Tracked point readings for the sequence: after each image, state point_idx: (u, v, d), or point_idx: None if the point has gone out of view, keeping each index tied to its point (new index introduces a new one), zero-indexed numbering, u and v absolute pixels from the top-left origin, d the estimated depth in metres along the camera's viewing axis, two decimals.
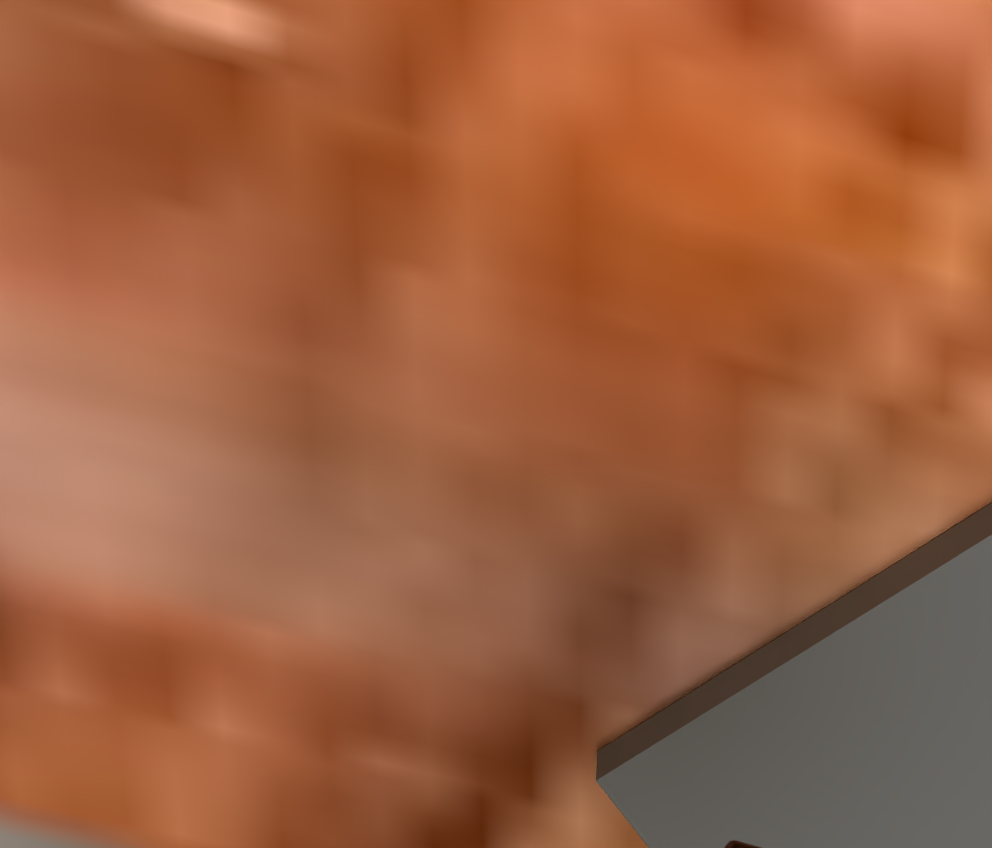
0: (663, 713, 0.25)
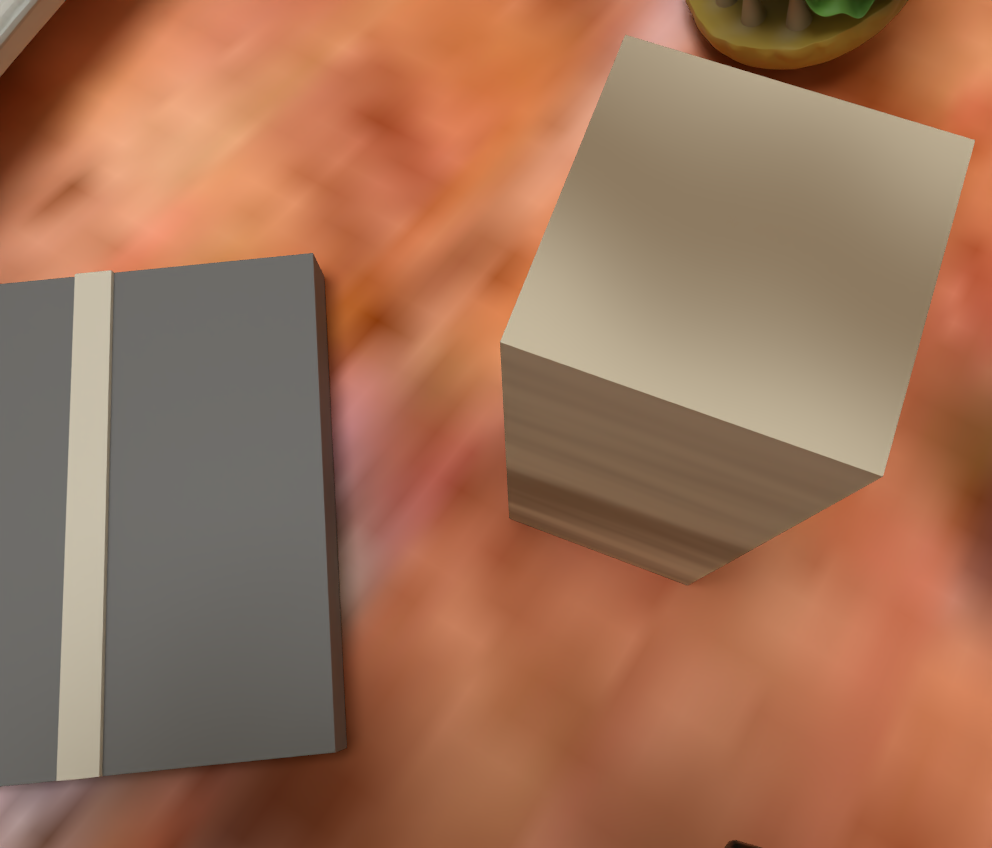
0: None
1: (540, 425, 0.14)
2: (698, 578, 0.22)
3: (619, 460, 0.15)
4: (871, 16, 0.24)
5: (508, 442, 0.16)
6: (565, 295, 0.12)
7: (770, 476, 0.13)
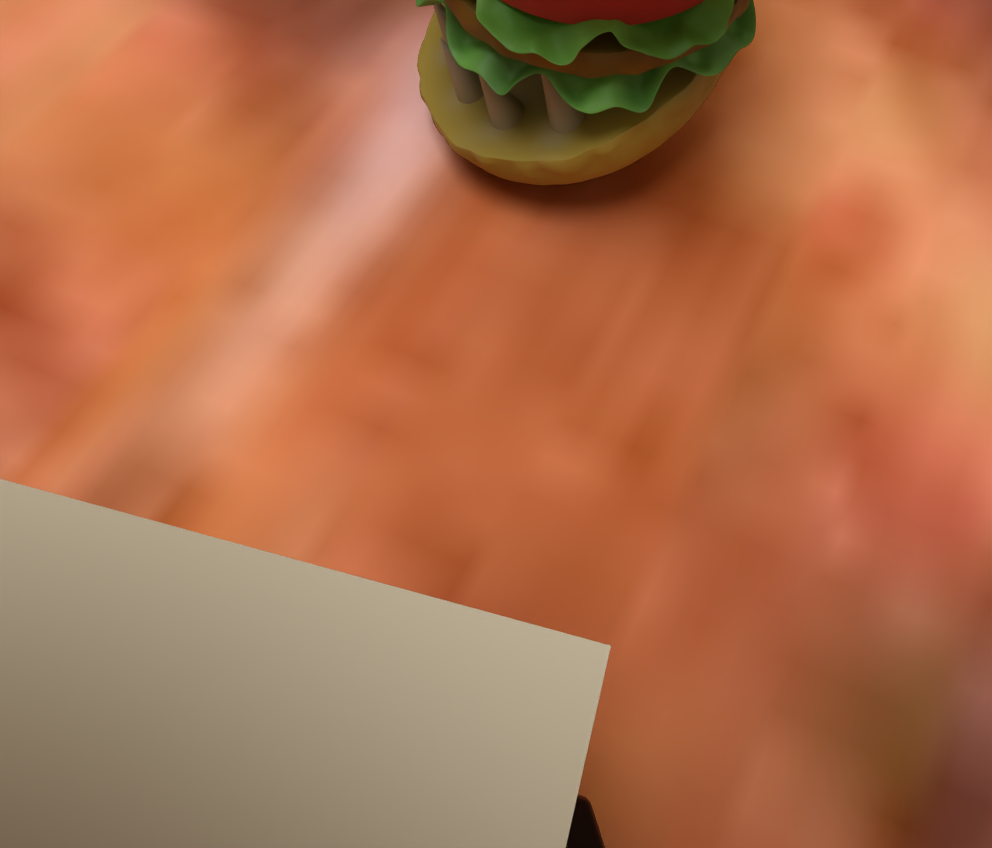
0: None
1: None
2: None
3: None
4: (664, 107, 0.16)
5: None
6: None
7: None
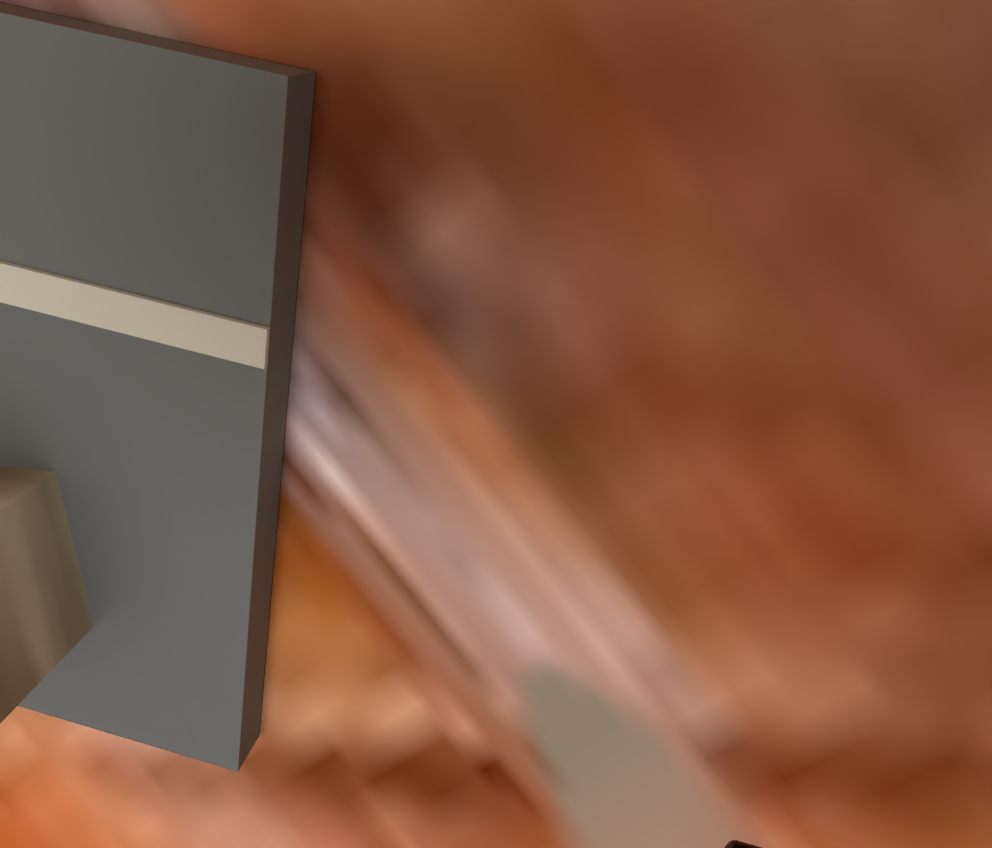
0: None
1: None
2: (16, 500, 0.22)
3: None
4: None
5: None
6: None
7: None
